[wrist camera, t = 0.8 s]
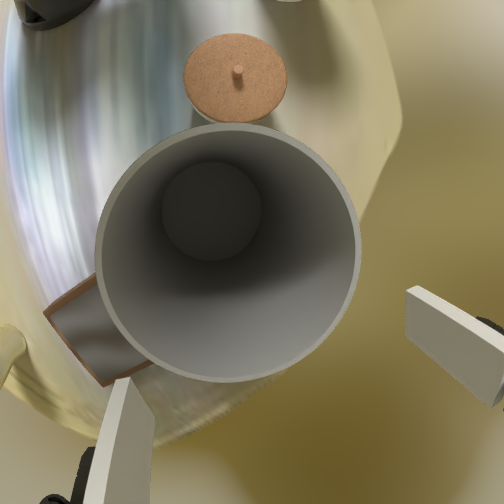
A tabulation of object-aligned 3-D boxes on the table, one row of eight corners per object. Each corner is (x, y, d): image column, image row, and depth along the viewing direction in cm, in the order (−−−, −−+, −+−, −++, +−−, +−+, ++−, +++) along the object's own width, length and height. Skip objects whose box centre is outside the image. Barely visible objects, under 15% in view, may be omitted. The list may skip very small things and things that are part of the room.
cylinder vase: (186, 144, 34) (162, 79, 11) (276, 185, 38) (397, 202, 14) (146, 236, 36) (70, 332, 12) (235, 272, 39) (289, 402, 16)
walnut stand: (52, 302, 36) (41, 313, 32) (121, 254, 36) (113, 263, 32) (108, 373, 40) (102, 389, 36) (179, 337, 40) (177, 352, 36)
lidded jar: (284, 83, 34) (309, 58, 26) (245, 149, 36) (260, 140, 27) (213, 45, 32) (219, 11, 23) (170, 110, 33) (161, 89, 24)
